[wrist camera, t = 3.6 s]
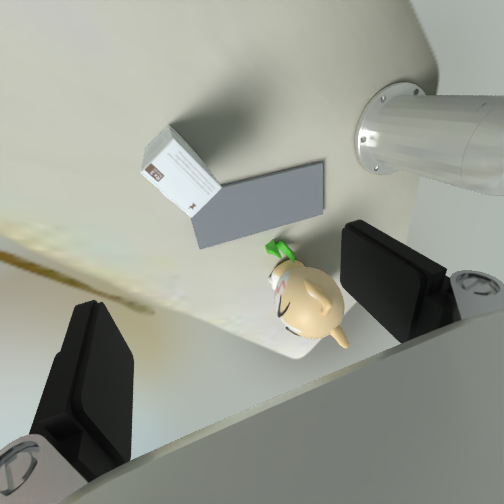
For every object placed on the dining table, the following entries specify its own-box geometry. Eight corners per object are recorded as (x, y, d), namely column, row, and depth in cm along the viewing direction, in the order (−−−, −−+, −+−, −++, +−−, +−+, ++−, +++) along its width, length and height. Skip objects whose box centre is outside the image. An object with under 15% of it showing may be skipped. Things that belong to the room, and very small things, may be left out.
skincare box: (204, 161, 36) (228, 187, 26) (179, 186, 36) (193, 221, 26) (166, 121, 32) (177, 133, 22) (140, 149, 33) (138, 173, 23)
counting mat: (319, 161, 41) (322, 163, 40) (319, 211, 45) (323, 213, 44) (184, 194, 37) (185, 196, 36) (198, 246, 41) (199, 249, 40)
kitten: (240, 255, 44) (278, 318, 32) (294, 222, 45) (352, 272, 32) (275, 311, 53) (315, 378, 40) (320, 284, 53) (374, 341, 41)
